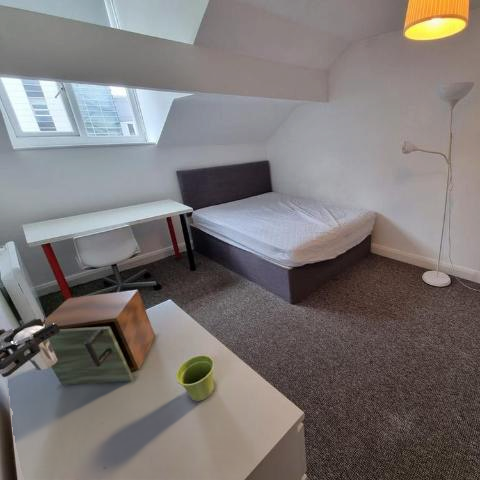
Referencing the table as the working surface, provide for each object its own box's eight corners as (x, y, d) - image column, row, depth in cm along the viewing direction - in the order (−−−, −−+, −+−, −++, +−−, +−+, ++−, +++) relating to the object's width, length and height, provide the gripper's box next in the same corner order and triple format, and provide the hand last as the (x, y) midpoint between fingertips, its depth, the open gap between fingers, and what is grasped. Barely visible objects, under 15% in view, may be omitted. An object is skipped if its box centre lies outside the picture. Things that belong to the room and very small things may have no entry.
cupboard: (138, 369, 82) (116, 318, 74) (65, 381, 79) (33, 329, 71) (155, 336, 95) (137, 289, 87) (92, 346, 92) (68, 298, 84)
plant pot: (188, 414, 69) (180, 392, 65) (180, 388, 76) (172, 366, 72) (224, 393, 74) (218, 371, 70) (213, 370, 81) (208, 349, 77)
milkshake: (71, 356, 58) (50, 320, 54) (39, 376, 53) (14, 338, 49) (60, 350, 60) (39, 314, 55) (28, 368, 55) (3, 331, 51)
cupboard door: (120, 397, 74) (93, 343, 66) (46, 401, 73) (10, 348, 65) (133, 377, 79) (110, 326, 71) (65, 382, 79) (33, 330, 71)
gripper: (-90, 400, 45) (36, 330, 59) (-46, 428, 40) (79, 345, 55) (-122, 368, 42) (20, 303, 56) (-78, 395, 37) (63, 316, 52)
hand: (48, 324), depth 56 cm, fingers closed on milkshake, 4 cm apart
